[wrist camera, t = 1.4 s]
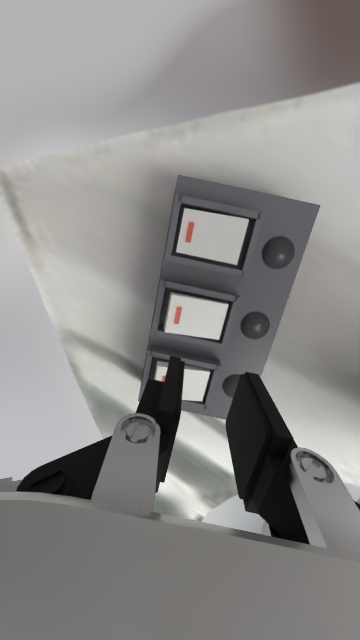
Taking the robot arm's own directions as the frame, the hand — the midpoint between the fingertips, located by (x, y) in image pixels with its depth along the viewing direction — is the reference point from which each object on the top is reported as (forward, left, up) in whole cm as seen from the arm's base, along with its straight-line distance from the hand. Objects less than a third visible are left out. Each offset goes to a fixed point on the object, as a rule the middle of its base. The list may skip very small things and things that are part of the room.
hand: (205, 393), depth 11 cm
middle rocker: (+1, 0, -14) cm, 14 cm away
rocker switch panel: (-2, 0, -19) cm, 19 cm away
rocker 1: (+1, +8, -14) cm, 16 cm away
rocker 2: (+1, -8, -14) cm, 16 cm away
